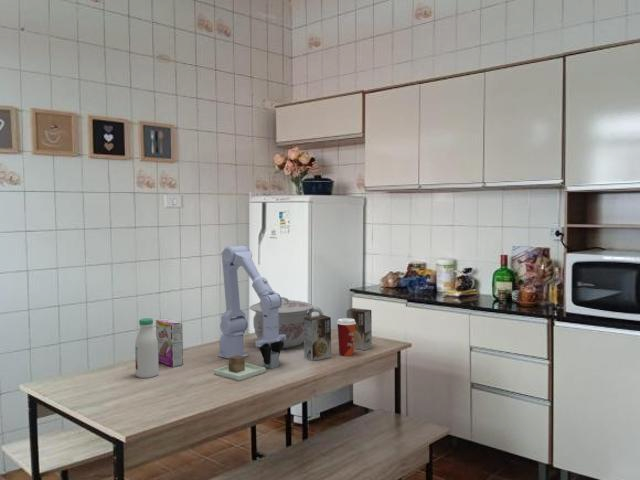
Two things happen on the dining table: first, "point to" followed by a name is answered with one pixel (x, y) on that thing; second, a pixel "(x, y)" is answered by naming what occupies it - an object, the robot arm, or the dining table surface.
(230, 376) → the tray
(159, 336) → the candy bar box
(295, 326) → the chamber pot
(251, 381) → the dining table surface
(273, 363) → the grey block
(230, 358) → the walnut block
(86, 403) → the dining table surface
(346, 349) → the paper cup
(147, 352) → the milk bottle
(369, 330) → the coffee box
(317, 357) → the coffee box
